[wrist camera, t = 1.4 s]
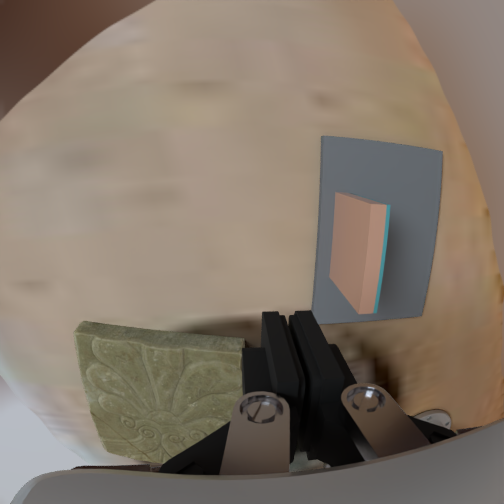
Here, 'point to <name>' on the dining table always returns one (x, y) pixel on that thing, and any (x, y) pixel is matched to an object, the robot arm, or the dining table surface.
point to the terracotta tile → (359, 249)
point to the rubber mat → (400, 222)
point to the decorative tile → (157, 387)
